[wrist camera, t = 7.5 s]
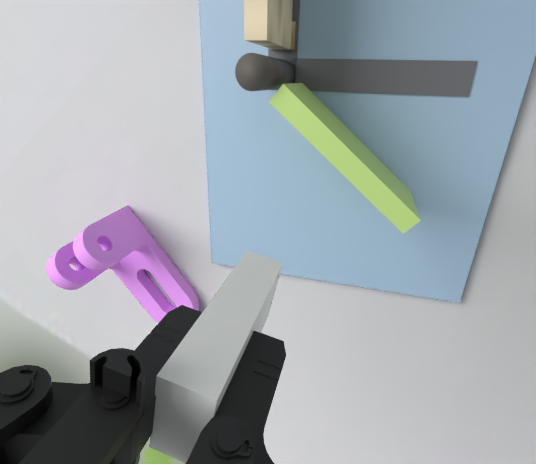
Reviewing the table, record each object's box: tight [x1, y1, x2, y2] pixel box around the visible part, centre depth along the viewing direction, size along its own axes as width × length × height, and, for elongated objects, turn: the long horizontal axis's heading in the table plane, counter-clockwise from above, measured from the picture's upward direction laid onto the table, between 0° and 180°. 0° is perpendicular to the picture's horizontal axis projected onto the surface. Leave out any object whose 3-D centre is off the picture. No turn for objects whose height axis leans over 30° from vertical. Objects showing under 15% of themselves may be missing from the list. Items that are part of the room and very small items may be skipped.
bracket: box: [46, 206, 200, 323], centre depth 32 cm, size 13×6×7 cm, turn 35°
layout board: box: [199, 0, 536, 303], centre depth 24 cm, size 28×21×1 cm
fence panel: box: [269, 83, 421, 234], centre depth 21 cm, size 10×1×6 cm, turn 49°
